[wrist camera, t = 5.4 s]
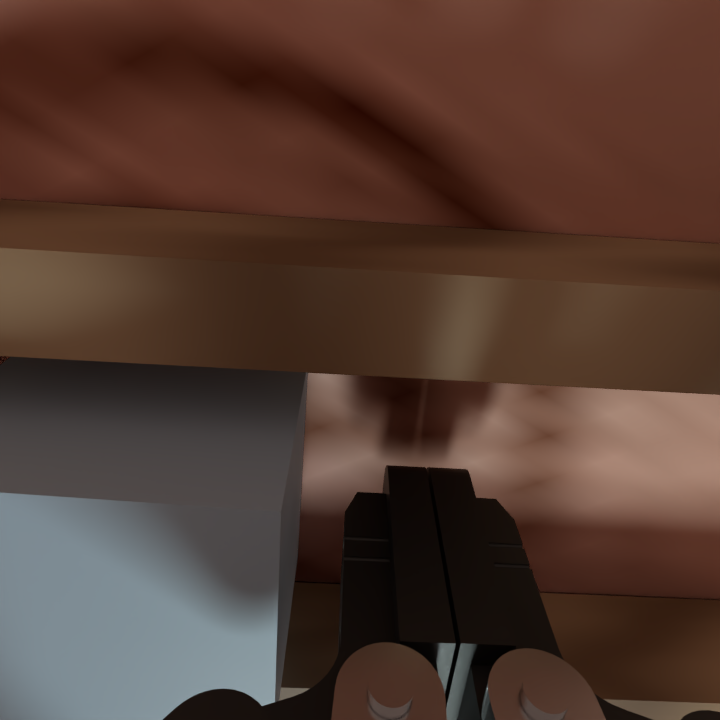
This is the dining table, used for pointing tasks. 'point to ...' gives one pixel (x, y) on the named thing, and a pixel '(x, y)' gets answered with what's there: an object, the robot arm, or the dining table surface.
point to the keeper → (144, 534)
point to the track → (393, 358)
